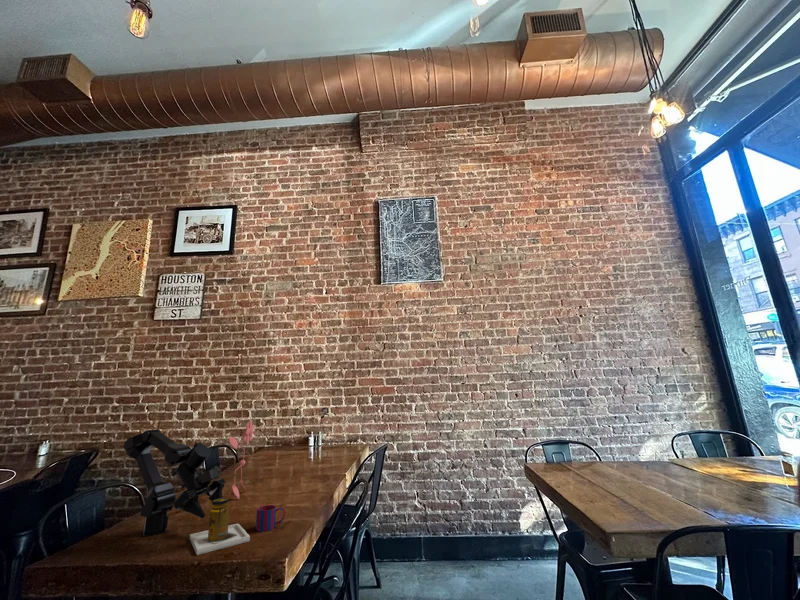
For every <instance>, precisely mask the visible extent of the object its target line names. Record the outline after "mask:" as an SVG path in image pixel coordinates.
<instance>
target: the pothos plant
mask: <svg viewBox="0 0 800 600" xmlns="http://www.w3.org/2000/svg"><path fill="white" fill-rule="evenodd" d="M254 428H255V424H254V423H253V419H250V420H249V422H247V423H246V425H245V433H244V434H243V436H242V437H241V439H240V440H239V442H238V441H237V439H236V438H235V437H234V436H232V435H229V438H228V443H229V444H230V446H231V449H232V451H233V450H234V449H235V450H237V449H238V446H239V447H240V448H241V449H242V450H243V456H242V457H243V458H242V459H241V460H239V466H238V467H237V468H236V469H235V470H234V473H236V471H238V469H239V468H240V478H241V479H240V480H239V484H238V486H236V477H233V480H234V482H233V483H234V484H232V485H231V491H230V492H229V494H228V496H227V498H228V499H229V498H230V496H231V495H232V492H233V494H234V496H235V498H237V500H240V492H239V488H240V486H242V487H243V490H244V491H245V492H246V493H247V492H248V491H247V489H246V487H245V485H244V484H243V469H242V467H243V466H245V465H246V460H245V453H246V449H245V448H244V447H243V446H242V445H243V444H244V442H245V446H246V447H247V446H249V444H250V442H252V441H253V435H254V436H255V438H256V439H258V438H259V437H258V436H257V435H256V433H255V432H254ZM258 491H260V492H261V493H263V491H261V490H260V489H258ZM256 498H257V496H255V497H254V499H256Z"/></svg>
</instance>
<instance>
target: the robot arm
mask: <svg viewBox="0 0 800 600" xmlns="http://www.w3.org/2000/svg"><path fill="white" fill-rule="evenodd" d="M161 431H162V430H160V429H158V428H157V429H156V428H155V429H148V430H145V431H143V432H141V433H139V434H136V435H134V436H130V437H128V438H127V440H125V442H124V444H123V449H124V451H125V452H126V455H127V456H128V457H130V458H132V459H133V460H135V462H136V464H137V467H138V469H139V471H140V474H141V476H142V479H143V481H144V484H145V487H146V490H147V495H146V498H145V503H144V504H143V506H142V508H140V517H144V518H145V519H144V520H145V521H144V527H143V530H142V533H143V535H142V536H143V537H149V536H155V535H158V534H163V533H166V529H167V528H168V522H169V521H168V520H169V515H168V512H169V511H172V510H173V507H174V508H175V510H176V511H179V510H180V511H184V512H186V513H190V514H192V515H194V516H196V517H199V518H201V519H204V518H205V517H206V514H205V511H204V509H203V508H202V506H201V504H200V502H199V497H200V496H203V495H206V496H208V499H209V500H210V501H211V503H212V502H213V500H215V499H219V498H224V497H223V489H224V488H225V485H226V484H227V483H226V480H225V479H224V478H220V475H221V474H222V473H221V472H222V469H220V467H219V466H218V465H216V466H213V467H211V468H210V470H209V469H208V470H206V471H205V472H204V471H199V469H198V468H200V467H202V465H203V464H204V463H205V462H206V460H207V459H208V458H209V457H210V455H211V454H212V450H211V448H210V447H208V446H207V445H204V444H203V443H202V442H201V441H200V442H196V443H195V444H194V445H193V446H192V448H191V446H190V445H187V444H184V443H177V442H176V441H174V440H172V439H171V438H170V437H169V436H167V435H165V434H164V433H163V432H161ZM152 447H154V448H156V449H157V450H158V451H160V452H161V453H162V454H163V455H164V460H165V461H166V463H167V464H169V466H174V465H178V466H177V467H174V468H173V472H172V478H173V477H176V476H178V477H179V479H180V480H181V482H182V484H183V485H181V488H182V489H186V490H183V491H182V492H181V493H180V495H179V496H178V497H176V496H177V495H176V490H175V489H174V486H173V483H171V482H167V483H165V482H164V480H163V479H162V476H161V474H160V471H159V470H158V466H157V465H156V462H155V460H154V458H153V455H152V452H151V451H152ZM217 478H218V479H217ZM214 479H215V480H214ZM212 480H213V481H212Z"/></svg>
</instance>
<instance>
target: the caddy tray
mask: <svg viewBox="0 0 800 600" xmlns="http://www.w3.org/2000/svg"><path fill="white" fill-rule="evenodd" d="M208 530H209V529H208ZM208 530H203V531H200V532H195V533H191V534H189V542H190V544H191V545H192V547H193V550H194V552H195V555H196V556H199V555H203V554H207V553H211V552H214V551H218V550H219V551H220V550H221V549H225V548H230V547H232V546H233V547H234V546H237V545H241V544H244V543H250V540H251V535H249V533H247V531H246V530H245V529H244V528H243V527H242V525H240V523H234V524H230V525H229V524H228V532H230V533H234V534H237V535H235V536H233V537H230V538H228V539H226V540H224V541H221V542H218V543H215V544H214V543H210V542H207V541H204V540H202V539H206V538H208Z"/></svg>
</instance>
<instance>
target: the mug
mask: <svg viewBox="0 0 800 600" xmlns="http://www.w3.org/2000/svg"><path fill="white" fill-rule="evenodd" d="M279 510H281V511H283V517H282V519H280V520H277V521H276V517H277V514H276V513H277V512H278V511H279ZM255 516H256V519H255V520H256V521H255V530H256V531H257V532H262V533H263V532H269V531H271V530H273V529H275V527H276V525H277V524H280V523H282V522H283V520H284V519H285V516H286V511H285V508H283V507H278V508H277V506H276V505H275V504H266V505H261V506H259V507H257V508H256V515H255Z"/></svg>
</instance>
